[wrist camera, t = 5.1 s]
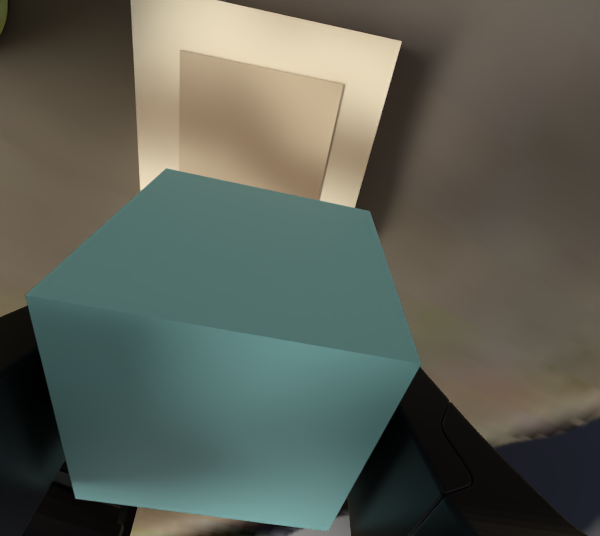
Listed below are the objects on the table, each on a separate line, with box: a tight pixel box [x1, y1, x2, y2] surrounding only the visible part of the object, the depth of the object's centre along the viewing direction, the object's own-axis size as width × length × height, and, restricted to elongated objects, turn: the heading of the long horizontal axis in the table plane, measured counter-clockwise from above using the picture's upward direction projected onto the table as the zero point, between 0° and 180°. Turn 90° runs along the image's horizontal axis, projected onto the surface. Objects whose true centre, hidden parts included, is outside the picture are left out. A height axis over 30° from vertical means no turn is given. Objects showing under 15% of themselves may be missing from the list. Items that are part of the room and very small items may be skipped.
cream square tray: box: [131, 0, 402, 208], centre depth 17 cm, size 10×10×3 cm
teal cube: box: [25, 168, 421, 531], centre depth 8 cm, size 5×5×5 cm
